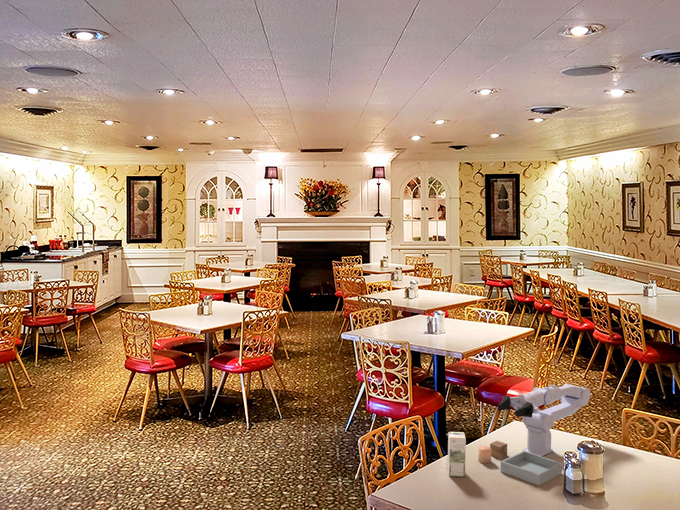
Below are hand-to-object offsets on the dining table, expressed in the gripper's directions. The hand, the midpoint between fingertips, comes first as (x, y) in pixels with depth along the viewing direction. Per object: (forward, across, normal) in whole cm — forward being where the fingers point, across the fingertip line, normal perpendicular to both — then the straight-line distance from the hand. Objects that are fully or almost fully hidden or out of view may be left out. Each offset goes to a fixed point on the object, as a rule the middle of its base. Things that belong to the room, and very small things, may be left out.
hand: (507, 410), depth 222 cm
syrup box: (+22, -5, +20) cm, 30 cm away
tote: (0, +11, +20) cm, 23 cm away
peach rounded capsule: (+5, -6, +20) cm, 22 cm away
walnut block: (-4, -6, +21) cm, 22 cm away
